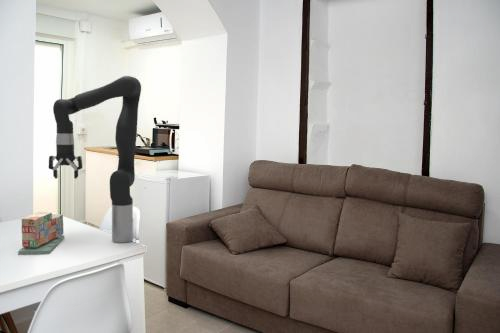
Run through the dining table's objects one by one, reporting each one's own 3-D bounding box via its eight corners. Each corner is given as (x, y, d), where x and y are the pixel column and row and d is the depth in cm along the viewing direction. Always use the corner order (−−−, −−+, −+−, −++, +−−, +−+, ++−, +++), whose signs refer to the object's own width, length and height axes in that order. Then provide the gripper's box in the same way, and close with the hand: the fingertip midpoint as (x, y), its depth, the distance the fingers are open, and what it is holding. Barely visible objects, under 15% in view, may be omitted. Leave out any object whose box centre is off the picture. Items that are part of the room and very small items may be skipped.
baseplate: (64, 238, 208) (64, 233, 207) (49, 254, 184) (49, 248, 184) (37, 238, 206) (36, 233, 206) (18, 254, 182) (18, 249, 182)
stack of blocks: (51, 233, 207) (50, 207, 205) (63, 234, 206) (63, 208, 204) (21, 246, 185) (21, 217, 184) (35, 247, 185) (35, 218, 183)
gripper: (83, 143, 208) (83, 177, 210) (51, 142, 206) (52, 177, 208) (79, 144, 201) (80, 179, 203) (46, 143, 199) (47, 179, 201)
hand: (65, 178), depth 206 cm, fingers open, 8 cm apart
